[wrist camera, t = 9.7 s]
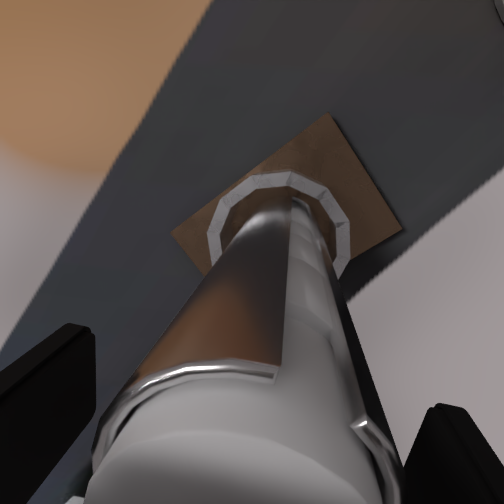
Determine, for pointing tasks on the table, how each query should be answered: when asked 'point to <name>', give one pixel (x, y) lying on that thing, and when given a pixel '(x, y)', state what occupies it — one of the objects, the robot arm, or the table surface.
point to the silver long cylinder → (253, 388)
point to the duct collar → (305, 188)
